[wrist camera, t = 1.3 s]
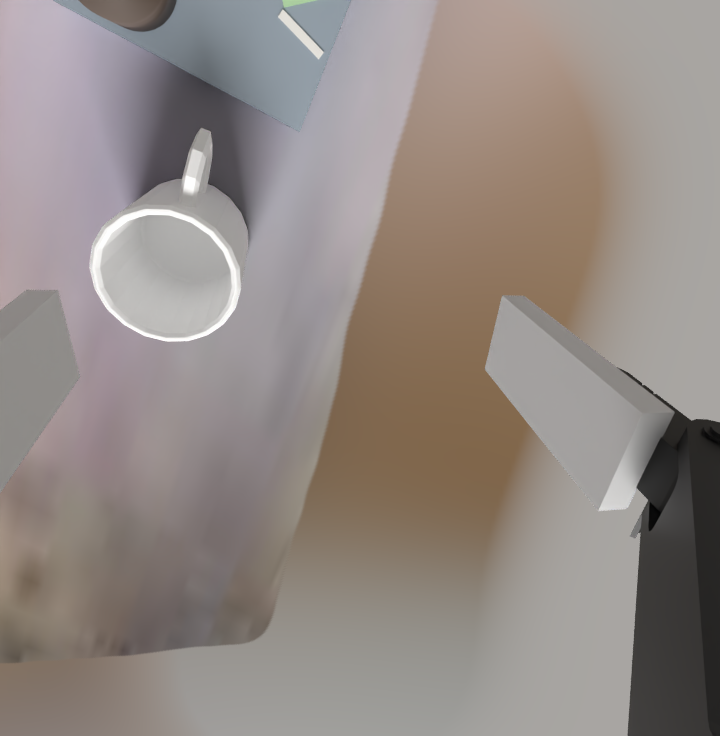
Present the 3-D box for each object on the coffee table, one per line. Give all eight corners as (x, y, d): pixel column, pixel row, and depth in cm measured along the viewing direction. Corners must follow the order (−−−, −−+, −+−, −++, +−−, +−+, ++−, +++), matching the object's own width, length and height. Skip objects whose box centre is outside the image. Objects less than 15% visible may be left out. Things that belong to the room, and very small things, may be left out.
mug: (276, 147, 33) (276, 163, 24) (233, 299, 38) (221, 356, 29) (155, 99, 30) (110, 98, 22) (127, 268, 35) (81, 321, 27)
